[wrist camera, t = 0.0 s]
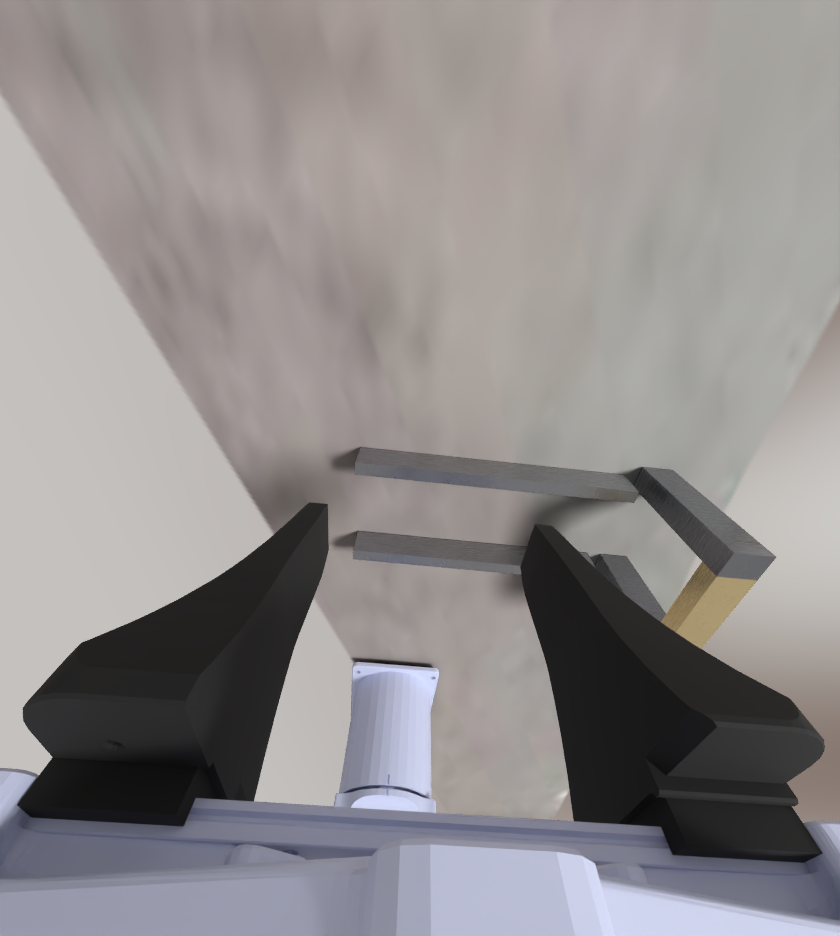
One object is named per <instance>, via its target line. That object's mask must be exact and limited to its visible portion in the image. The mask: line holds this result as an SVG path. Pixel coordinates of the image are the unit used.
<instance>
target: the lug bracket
mask: <svg viewBox="0 0 840 936" xmlns="http://www.w3.org/2000/svg"><path fill="white" fill-rule="evenodd" d="M634 487H635V488H636V489H637V490H638V491H639V493H640V494H641V495H642V497H643V498H644V499H645V500H646V501H647V502H648V503H649V504H650V505H651V506H652V507H653V508H654V509H655V511H656V512H657V513H658V514H659V515H660V516H661V517H662V518H663V519H664V520H665V521H666V522H667V524H668V525H669V526H670V527H671V528H672V529H673V530H674V531H675V532H676V533H677V534H678V535H679V536H680V538H681V539H682V540H683V541H684V542H685V543H686V544H687V545H688V546H689V547H690V548H691V549H692V550H693V552H694V553H695V554H696V555H697V556H698V557H699V558H700V559H701V560H702V563H701V564H700V566H699V567H698V569H697V570H696V571H695V573H694V575H693V576H692V577H691V579H690V580H689V582H688V583H687V585H686V586H685V587H684V589H683V590H682V592H681V593H680V595H679V596H678V598H677V599H676V601H675V602H674V604H673V605H672V606H671V608H670V609H669V611H668V612H667V614H666V613H665V612H664V611H663V609H662V608H661V606H660V605H659V603H658V602H657V600H656V599H655V597H654V596H653V594H652V593H651V592H650V590H649V589H648V587H647V586H646V584H645V583H644V581H643V580H642V578H641V577H640V575H639V574H638V573H637V571H636V570H635V568H634V567H633V565H632V564H631V562H630V561H629V559H628V558H627V557H626V556H615V555H605V554H600V556H599V558H598V560H597V562H596V564H595V567H596V569H597V570H598V571H599V572H600V573H601V574H602V575H603V576H604V577H606V578H607V579H608V580H609V581H610V582H611V583H612V584H613V585H615V586H616V587H617V588H618V589H619V590H620V591H622V592H623V593H624V594H625V595H626V596H627V597H629V598H630V599H631V600H632V601H634V602H635V603H636V604H637V605H639V606H640V607H641V608H643V609H644V610H645V611H647V612H648V613H649V614H650V615H652V616H653V617H654V618H656V619H657V620H659V621H660V622H661V623H663V624H664V625H666V626H667V627H668V628H670V629H671V630H673V631H674V632H676V633H677V634H679V635H680V636H682V637H683V638H685V639H686V640H688V641H689V642H691V643H692V644H694V645H696V646H697V647H699V648H700V649H701V648H702V647H703V646H704V645H705V644H706V642H707V641H708V640H709V639H710V637H711V636H712V635H713V634H714V633H715V631H716V630H717V629H718V628H719V626H720V625H721V624H722V623H723V622H724V620H725V619H726V618H727V617H728V616H729V614H730V613H731V612H732V611H733V609H734V608H735V607H736V606H737V605H738V603H739V602H740V601H741V600H742V598H743V597H744V596H745V595H746V593H747V592H748V591H749V590H750V588H751V587H752V586H753V585H754V584H755V583H756V581H757V580H758V579H759V578H760V576H761V575H762V574H763V573H764V572H765V570H766V569H767V568H768V567H769V565H770V564H771V563H772V562H773V561H774V559H775V558H776V556H775V555H773V554H772V553H771V552H770V551H769V550H767V549H766V548H765V547H764V546H763V545H761V544H760V543H759V542H758V541H757V540H756V539H754V538H753V537H752V536H751V535H750V534H748V533H747V532H746V531H745V530H744V529H742V528H741V527H740V526H739V525H738V524H736V523H735V522H734V521H733V520H732V519H731V518H729V517H728V516H727V515H726V514H725V513H723V512H722V511H721V510H720V509H719V508H717V507H716V506H715V505H714V504H713V503H711V502H710V501H709V500H708V499H707V498H705V497H704V496H703V495H702V494H701V493H700V492H698V491H697V490H696V489H695V488H694V487H692V486H691V485H690V484H689V483H688V482H686V481H685V480H684V479H683V478H682V477H680V476H679V475H678V474H677V473H676V472H675V471H673V470H666V469H657V468H647V467H643V468H642V470H641V472H640V474H639V476H638V478H637V480H636V482H635V484H634Z"/></svg>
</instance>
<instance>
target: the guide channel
mask: <svg viewBox="0 0 840 936" xmlns="http://www.w3.org/2000/svg"><path fill="white" fill-rule="evenodd" d="M355 474H356V475H366V476H375V477H385V478H395V479H405V480H415V481H425V482H434V483H444V484H454V485H464V486H474V487H483V488H493V489H503V490H513V491H523V492H533V493H542V494H552V495H562V496H572V497H582V498H592V499H601V500H611V501H621V502H631V503H634V502H635V500H636V498H637V496H638V494H639V491H638V490H637V489H636V488H635V487H634V486H633V485H632V483H631V482H630V481H629V480H628V479H627V478H626V477H625V476H624V475H621V474H611V473H602V472H592V471H583V470H573V469H564V468H554V467H545V466H535V465H525V464H516V463H506V462H497V461H487V460H478V459H468V458H459V457H449V456H440V455H430V454H421V453H411V452H402V451H392V450H383V449H373V448H364V447H361V448H360V450H359V453H358V456H357V459H356V462H355ZM526 549H527V547H520V546H510V545H499V544H489V543H478V542H468V541H457V540H447V539H436V538H426V537H415V536H405V535H394V534H384V533H373V532H363V531H358V533H357V537H356V541H355V545H354V549H353V559H357V560H368V561H379V562H390V563H401V564H411V565H422V566H433V567H444V568H455V569H466V570H477V571H488V572H499V573H510V574H521V569H520V566H521V563H522V561H523V558H524V555H525V552H526ZM579 553H580V554H581V555H582V556H583V557H584V558H585V559H586V560H587V561H588V562H590V563H591V564H592V565H593V566H594V564H593V562H592V560H591V558H590V557H589V555H588V553H584V552H579ZM594 567H595V566H594ZM595 568H596V567H595Z"/></svg>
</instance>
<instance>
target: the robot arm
mask: <svg viewBox="0 0 840 936" xmlns="http://www.w3.org/2000/svg"><path fill="white" fill-rule="evenodd" d="M328 550H329V546H328V504H320V503H308V504H307V505H306V506H305V507H304V508H303V509H302V510H300V511H299V512H298V513H297V514H296V515H295V516H294V517H293V518H292V519H291V520H290V521H289V522H288V523H287V524H285V525H284V526H283V527H282V528H281V529H280V530H279V531H277V532H276V533H275V534H274V535H273V536H272V537H271V538H270V539H269V540H267V541H266V542H265V543H263V544H262V545H261V546H260V547H258V548H257V549H256V550H255V551H253V552H252V553H251V554H250V555H248V556H247V557H246V558H244V559H243V560H242V561H240V562H239V563H238V564H236V565H235V566H233V567H232V568H230V569H229V570H227V571H226V572H224V573H223V574H221V575H220V576H218V577H217V578H215V579H213V580H212V581H210V582H208V583H206V584H205V585H203V586H201V587H200V588H198V589H196V590H194V591H192V592H191V593H189V594H187V595H185V596H184V597H182V598H180V599H178V600H176V601H174V602H172V603H170V604H168V605H167V606H165V607H162V608H160V609H158V610H156V611H155V612H152V613H150V614H148V615H146V616H144V617H142V618H140V619H137V620H135V621H133V622H131V623H128V624H126V625H124V626H121V627H119V628H116V629H114V630H112V631H109V632H107V633H104V634H102V635H100V636H97V637H95V638H93V639H90V640H88V641H85V642H82V643H81V644H80V645H79V646H78V647H77V648H76V649H75V650H74V651H73V652H72V653H71V654H70V655H69V656H68V657H67V658H66V659H65V661H64V662H63V663H62V664H61V665H60V666H59V667H58V668H57V669H56V670H55V672H54V673H53V674H52V675H51V676H50V677H49V678H48V679H47V680H46V682H45V683H44V684H43V685H42V686H41V687H40V688H39V689H38V690H37V692H36V693H35V694H34V695H33V696H32V697H31V698H30V699H29V700H28V702H27V703H26V704H25V706H24V707H23V720H24V722H25V724H26V726H27V727H28V729H29V730H30V731H31V733H32V734H33V735H34V736H35V737H36V738H37V739H38V741H39V742H40V743H41V744H42V745H43V746H44V747H45V749H46V750H47V751H48V752H49V753H50V755H51V756H52V757H53V758H52V760H51V761H50V762H49V763H48V765H47V766H46V767H45V768H44V770H43V771H42V772H41V774H40V775H39V776H38V775H37V774H35V773H32V772H29V771H26V770H19V769H7V768H0V936H840V822H836V821H812V822H807V823H802V821H801V820H800V818H799V817H798V815H797V814H796V813H795V811H794V810H793V808H792V806H796V805H797V804H798V799H797V797H796V796H795V795H794V793H793V792H792V790H791V789H790V787H789V786H788V784H787V782H788V781H789V780H791V779H792V778H794V777H795V776H797V775H798V774H800V773H801V772H803V771H804V770H806V769H807V768H808V767H810V766H811V765H812V764H814V763H815V762H816V761H817V760H818V759H820V757H821V756H822V754H823V752H824V748H825V745H824V739H823V738H822V737H821V736H820V735H819V733H818V732H817V731H816V730H815V728H814V727H813V726H812V725H811V724H810V722H809V721H808V720H807V719H806V717H805V716H804V715H803V714H802V713H801V711H800V710H799V709H798V708H797V707H796V705H795V704H794V703H793V702H792V701H791V699H789V698H788V697H786V696H784V695H782V694H780V693H778V692H776V691H775V690H773V689H771V688H769V687H767V686H765V685H763V684H761V683H759V682H757V681H756V680H754V679H752V678H750V677H748V676H746V675H744V674H742V673H741V672H739V671H737V670H735V669H733V668H732V667H730V666H729V665H727V664H725V663H723V662H722V661H720V660H718V659H717V658H715V657H713V656H711V655H710V654H708V653H707V652H705V651H704V650H702V649H700V648H699V647H697V646H696V645H694V644H692V643H691V642H689V641H688V640H686V639H685V638H683V637H682V636H680V635H679V634H677V633H676V632H674V631H673V630H671V629H670V628H668V627H667V626H666V625H664V624H663V623H661V622H660V621H659V620H657V619H656V618H654V617H653V616H652V615H650V614H649V613H648V612H647V611H645V610H644V609H643V608H641V607H640V606H639V605H637V604H636V603H635V602H634V601H632V600H631V599H630V598H629V597H627V596H626V595H625V594H624V593H623V592H622V591H620V590H619V589H618V588H617V587H616V586H615V585H613V584H612V583H611V582H610V581H609V580H608V579H607V578H606V577H604V576H603V575H602V574H601V573H600V572H599V571H598V570H597V569H596V568H595V567H594V566H593V565H592V564H591V563H590V562H588V561H587V560H586V559H585V558H584V557H583V556H582V555H581V554H580V553H579V552H578V551H577V550H576V549H575V548H574V547H573V546H572V545H571V544H570V543H569V542H568V541H567V540H566V539H565V538H564V537H563V536H562V535H561V534H560V533H559V532H558V531H557V530H556V529H555V528H554V527H552V526H545V525H535V526H534V529H533V532H532V534H531V537H530V540H529V543H528V546H527V549H526V552H525V555H524V558H523V561H522V563H521V566H520V569H521V575H522V582H523V587H524V592H525V596H526V600H527V603H528V606H529V609H530V613H531V616H532V619H533V622H534V625H535V628H536V631H537V635H538V638H539V641H540V644H541V647H542V650H543V653H544V657H545V660H546V664H547V668H548V672H549V676H550V681H551V686H552V690H553V695H554V700H555V705H556V710H557V716H558V721H559V726H560V732H561V737H562V743H563V750H564V756H565V762H566V768H567V774H568V782H569V789H570V796H571V804H572V811H573V819H574V821H560V820H544V819H527V818H511V817H495V816H479V815H463V814H447V813H436V801H435V799H431V730H430V710H431V706H432V702H433V698H434V694H435V689H436V685H437V681H438V677H439V670H438V669H436V668H429V667H416V666H404V665H391V664H378V663H366V662H355V663H354V664H353V668H352V701H351V722H350V728H349V734H348V741H347V747H346V753H345V759H344V765H343V772H342V777H341V783H340V789H339V793H337V794H336V796H335V802H334V806H317V805H300V804H285V803H268V802H254V798H255V794H256V789H257V785H258V781H259V777H260V773H261V769H262V765H263V761H264V757H265V752H266V749H267V744H268V741H269V737H270V733H271V729H272V725H273V721H274V717H275V714H276V710H277V706H278V703H279V699H280V695H281V692H282V688H283V684H284V681H285V677H286V674H287V670H288V667H289V663H290V660H291V656H292V653H293V650H294V646H295V644H296V641H297V638H298V635H299V633H300V630H301V628H302V625H303V623H304V620H305V618H306V615H307V612H308V610H309V607H310V605H311V602H312V600H313V597H314V595H315V592H316V590H317V587H318V585H319V582H320V579H321V577H322V573H323V569H324V566H325V562H326V558H327V554H328Z"/></svg>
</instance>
